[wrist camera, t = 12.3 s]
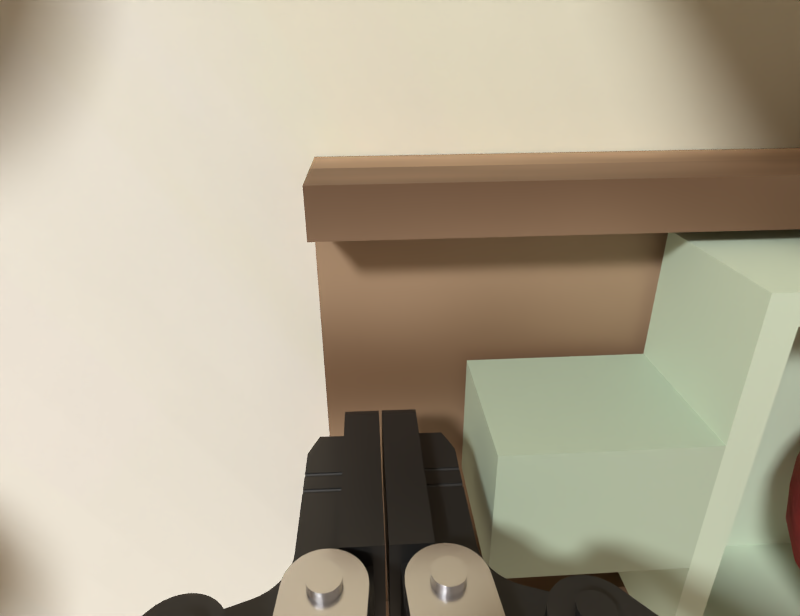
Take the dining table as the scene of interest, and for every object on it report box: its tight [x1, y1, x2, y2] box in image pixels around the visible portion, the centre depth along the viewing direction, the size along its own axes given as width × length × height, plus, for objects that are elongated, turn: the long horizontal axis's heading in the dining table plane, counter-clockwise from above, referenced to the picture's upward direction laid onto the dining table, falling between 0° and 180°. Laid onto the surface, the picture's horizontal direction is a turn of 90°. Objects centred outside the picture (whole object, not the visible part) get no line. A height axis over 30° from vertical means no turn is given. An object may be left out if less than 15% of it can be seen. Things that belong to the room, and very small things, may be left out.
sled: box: [461, 229, 800, 616], centre depth 12 cm, size 9×13×3 cm
